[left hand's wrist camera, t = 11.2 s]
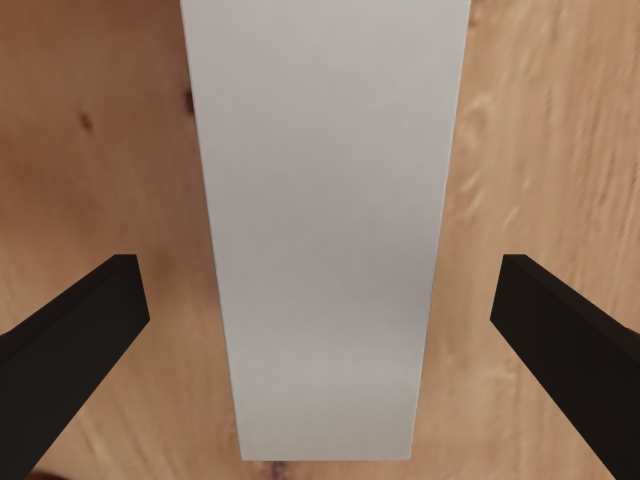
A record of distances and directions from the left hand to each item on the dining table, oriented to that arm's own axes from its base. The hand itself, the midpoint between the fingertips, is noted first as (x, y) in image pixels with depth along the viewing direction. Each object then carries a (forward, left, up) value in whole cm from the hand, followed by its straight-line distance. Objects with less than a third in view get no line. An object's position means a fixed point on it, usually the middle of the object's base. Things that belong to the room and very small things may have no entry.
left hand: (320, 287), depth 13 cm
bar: (+7, +23, -4) cm, 24 cm away
